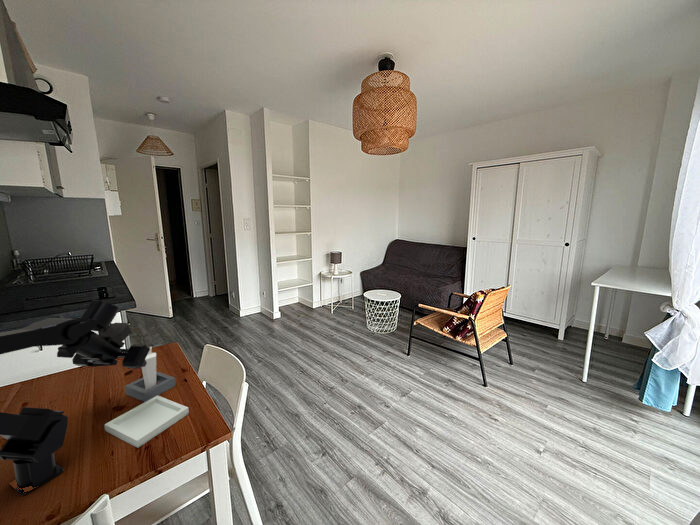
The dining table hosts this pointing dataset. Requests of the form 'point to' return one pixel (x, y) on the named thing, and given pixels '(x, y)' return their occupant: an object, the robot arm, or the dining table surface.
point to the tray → (146, 420)
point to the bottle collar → (144, 395)
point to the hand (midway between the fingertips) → (131, 364)
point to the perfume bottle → (150, 370)
